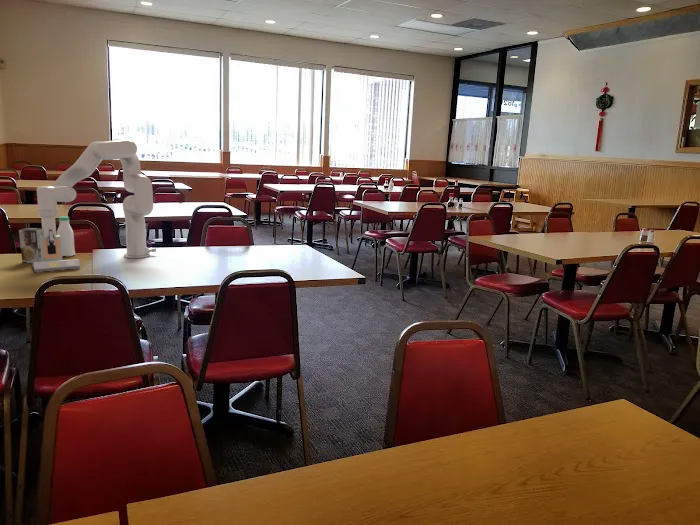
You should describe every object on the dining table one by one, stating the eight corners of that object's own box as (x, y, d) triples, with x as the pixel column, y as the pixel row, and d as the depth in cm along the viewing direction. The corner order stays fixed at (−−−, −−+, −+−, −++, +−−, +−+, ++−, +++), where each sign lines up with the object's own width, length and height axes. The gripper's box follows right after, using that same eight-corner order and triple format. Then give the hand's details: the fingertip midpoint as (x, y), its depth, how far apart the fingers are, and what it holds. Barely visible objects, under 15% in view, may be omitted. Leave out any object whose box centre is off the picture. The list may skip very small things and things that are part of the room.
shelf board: (75, 262, 263) (74, 253, 262) (79, 269, 251) (79, 259, 250) (32, 266, 253) (31, 256, 252) (35, 272, 241) (34, 262, 240)
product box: (41, 261, 251) (39, 235, 249) (61, 260, 255) (59, 234, 253) (42, 263, 247) (40, 237, 244) (62, 262, 251) (60, 236, 249)
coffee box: (48, 261, 265) (45, 228, 262) (39, 263, 259) (36, 230, 255) (30, 260, 266) (27, 227, 262) (21, 262, 259) (18, 229, 256)
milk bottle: (74, 256, 277) (71, 217, 273) (57, 257, 274) (54, 217, 270) (75, 253, 284) (73, 215, 280) (59, 254, 281) (56, 216, 277)
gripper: (37, 211, 251) (40, 250, 255) (40, 216, 237) (43, 256, 241) (55, 211, 255) (58, 249, 259) (59, 215, 242) (62, 255, 245)
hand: (51, 252), depth 250 cm, fingers closed on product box, 5 cm apart
